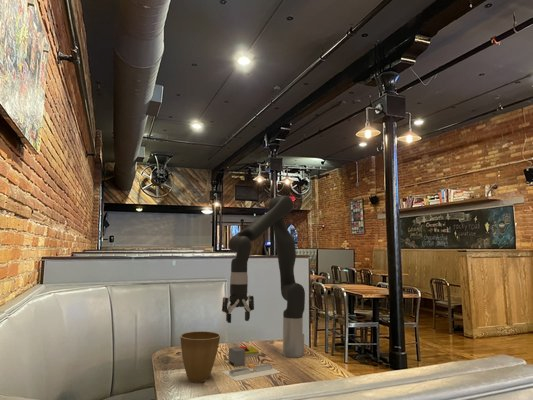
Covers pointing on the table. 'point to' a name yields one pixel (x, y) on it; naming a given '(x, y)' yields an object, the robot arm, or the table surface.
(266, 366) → the rail
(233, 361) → the block
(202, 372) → the plant pot
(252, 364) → the block
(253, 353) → the emergency button
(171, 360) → the table surface
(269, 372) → the mounting plate
